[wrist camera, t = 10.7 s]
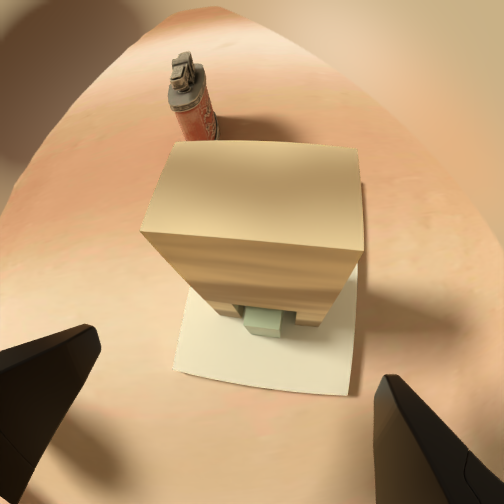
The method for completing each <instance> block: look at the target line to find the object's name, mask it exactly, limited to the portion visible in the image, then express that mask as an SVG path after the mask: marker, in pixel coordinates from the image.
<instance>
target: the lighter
mask: <svg viewBox="0 0 504 504" xmlns="http://www.w3.org/2000/svg"><path fill="white" fill-rule="evenodd" d="M172 69H173V72H172V75H171V78H170V82H171V84H170V86H169V91H168V102H169V105H170V108H171V110H172V111H174V112H175V114H176V117H177V119H178V122H179V124H180V127H181V129H182V132H183V135H184V137H185V140H186V141H214V140H219V137H220V132H219V124H218V120H217V117H216V114H215V112H214V111H213V109H212V105H211V102H210V98H209V94H208V90H207V87H206V75H205V71H204V68H203V65H202V64H193V60H192V56H191V53H190V51H188V52H183V53H181V54H179V55H178V58H177V59H173V60H172Z"/></svg>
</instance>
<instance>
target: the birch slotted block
mask: <svg viewBox="0 0 504 504" xmlns="http://www.w3.org/2000/svg"><path fill="white" fill-rule="evenodd" d="M140 232H141V233H142V234H143V236H144V237H145V238H146V239H147V240H148V241H149V242H150V243H151V244H152V246H153V247H154V248H155V249H156V250H157V251H158V252H159V253H160V254H161V255H162V257H163V258H164V259H165V260H166V261H167V262H168V263H169V264H170V265H171V266H172V267H173V268H174V269H175V270H176V271H177V273H178V274H179V275H180V276H181V277H182V278H183V279H184V280H185V281H186V282H187V283H188V284H189V285H190V286H191V287H192V288H193V289H194V290H195V291H196V292H197V293H198V294H199V295H200V296H201V297H202V298H203V299H204V300H205V301H206V302H207V303H208V304H209V305H210V306H211V307H212V308H213V309H214V310H215V311H216V312H217V313H218V314H219V315H221V316H228V317H235V318H242V317H243V311H244V306H252V307H260V308H268V309H277V310H286V311H296V319H295V325H301V326H311V327H319V325H320V324H321V322H322V321H323V319H324V318H325V316H326V314H327V313H328V311H329V310H330V308H331V307H332V305H333V303H334V302H335V300H336V298H337V297H338V295H339V293H340V292H341V290H342V289H343V287H344V285H345V283H346V282H347V280H348V278H349V277H350V275H351V273H352V271H353V270H354V268H355V266H356V264H357V263H358V261H359V259H360V257H361V256H362V254H363V252H364V229H363V208H362V192H361V180H360V169H359V159H358V150H357V149H356V148H348V147H339V146H330V145H320V144H308V143H294V142H276V141H244V140H214V141H182V142H175V144H174V146H173V149H172V151H171V153H170V155H169V157H168V160H167V162H166V164H165V167H164V169H163V171H162V174H161V176H160V178H159V181H158V183H157V186H156V188H155V191H154V193H153V196H152V198H151V201H150V204H149V206H148V209H147V211H146V214H145V217H144V220H143V222H142V225H141V228H140Z"/></svg>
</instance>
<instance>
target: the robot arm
mask: <svg viewBox="0 0 504 504" xmlns="http://www.w3.org/2000/svg"><path fill="white" fill-rule="evenodd" d="M100 352H101V343H100V340H99V337H98V333H97V330H96V328H95V327H94V326H91V325H88V324H82V325H79V326H76V327H73V328H70V329H67V330H64V331H61V332H58V333H55V334H52V335H49V336H46V337H43V338H39V339H36V340H33V341H30V342H27V343H24V344H21V345H18V346H15V347H11V348H8V349H5V350H2V351H1V352H0V496H1V497H2V498H3V499H5V500H6V501H7V502H9V503H10V504H18V503H19V501H20V499H21V497H22V494H23V492H24V490H25V488H26V486H27V484H28V482H29V480H30V478H31V476H32V474H33V472H34V470H35V468H36V466H37V464H38V462H39V460H40V459H41V457H42V455H43V453H44V451H45V449H46V448H47V446H48V444H49V442H50V440H51V439H52V437H53V435H54V433H55V432H56V430H57V428H58V426H59V425H60V423H61V421H62V420H63V418H64V416H65V415H66V413H67V411H68V410H69V408H70V406H71V405H72V403H73V401H74V400H75V398H76V397H77V395H78V393H79V392H80V390H81V389H82V387H83V385H84V383H85V381H86V379H87V377H88V375H89V373H90V371H91V370H92V368H93V366H94V364H95V362H96V360H97V358H98V356H99V354H100ZM373 452H374V467H375V487H376V504H504V483H503V482H502V481H501V480H500V479H499V478H498V477H497V476H495V475H494V474H493V473H492V472H491V471H490V470H489V469H488V468H487V467H486V466H485V465H484V464H483V463H482V462H481V461H480V460H479V459H478V458H477V457H476V456H475V455H474V454H473V453H472V452H471V451H470V450H468V447H467V446H466V445H465V444H464V443H463V442H462V441H461V440H460V439H459V438H458V437H457V436H456V435H455V434H454V432H453V431H452V430H451V429H450V428H449V427H448V426H447V425H446V424H445V423H444V422H443V421H442V420H441V419H440V418H439V417H438V416H437V414H436V413H435V412H434V411H433V410H432V409H431V408H430V407H429V406H428V405H427V404H426V403H425V402H424V401H423V400H422V399H421V398H420V397H419V396H418V395H417V394H416V393H415V392H414V391H413V390H412V388H411V387H410V386H409V385H408V384H407V383H406V382H405V381H404V380H403V379H402V378H401V377H400V376H399V375H396V374H386V375H384V376H383V377H382V380H381V382H380V384H379V386H378V389H377V391H376V393H375V396H374V430H373Z"/></svg>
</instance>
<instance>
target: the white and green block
mask: <svg viewBox="0 0 504 504" xmlns="http://www.w3.org/2000/svg"><path fill="white" fill-rule="evenodd" d="M357 277H358V263H357V264H356V266H355V268H354V270H353V271H352V273H351V275H350V277H349V278H348V280H347V282H346V283H345V285H344V287H343V289H342V290H341V292H340V293H339V295H338V297H337V298H336V300H335V302H334V303H333V305H332V307H331V308H330V310H329V311H328V313H327V314H326V316H325V318H324V319H323V321H322V322H321V324H320V325H319V327H311V326H301V325H295V319H296V311H286V310H277V309H268V308H260V307H252V306H244V311H243V317H242V318H235V317H228V316H221V315H219V314H218V313H217V312H216V311H215V310H214V309H213V308H212V307H211V306H210V305H209V304H208V303H207V302H206V301H205V300H204V299H203V298H202V297H201V296H200V295H199V294H198V293H197V292H196V291H195V290H194V289H193V288H192V287H191V286H190V288H189V293H188V297H187V301H186V306H185V310H184V315H183V319H182V324H181V329H180V333H179V338H178V343H177V348H176V353H175V358H174V363H173V368H172V370H175V371H179V372H183V373H188V374H192V375H196V376H201V377H205V378H210V379H215V380H220V381H225V382H230V383H236V384H242V385H248V386H254V387H261V388H268V389H275V390H283V391H292V392H302V393H313V394H326V395H344V396H348V389H349V382H350V374H351V365H352V356H353V346H354V334H355V320H356V303H357Z"/></svg>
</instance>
